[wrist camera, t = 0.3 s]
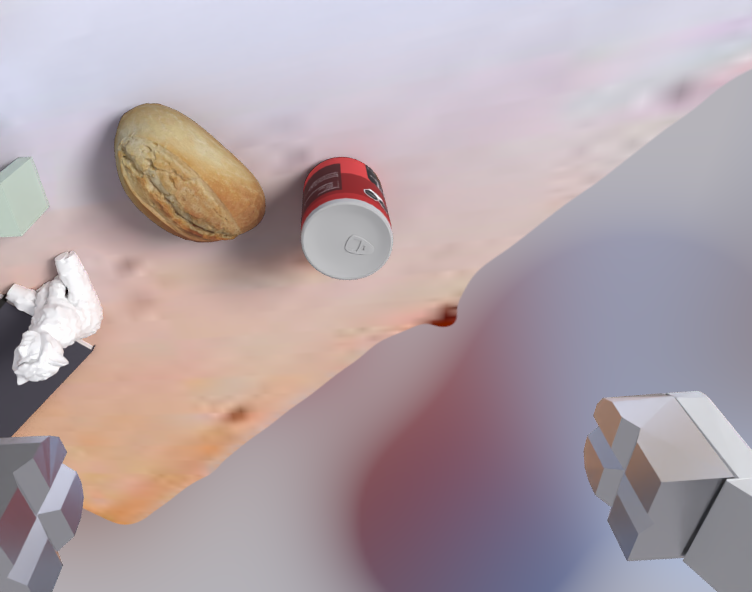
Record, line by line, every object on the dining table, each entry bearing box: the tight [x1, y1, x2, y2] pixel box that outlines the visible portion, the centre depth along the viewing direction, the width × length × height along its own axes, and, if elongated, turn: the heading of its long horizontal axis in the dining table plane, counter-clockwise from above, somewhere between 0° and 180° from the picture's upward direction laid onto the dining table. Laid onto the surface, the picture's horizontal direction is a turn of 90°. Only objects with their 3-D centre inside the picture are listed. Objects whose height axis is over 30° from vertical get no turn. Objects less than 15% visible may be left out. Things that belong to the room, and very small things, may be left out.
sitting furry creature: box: [6, 251, 103, 385], centre depth 56 cm, size 10×9×12 cm
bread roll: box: [114, 103, 266, 242], centre depth 51 cm, size 10×15×8 cm, turn 46°
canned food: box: [301, 157, 393, 280], centre depth 52 cm, size 8×8×11 cm
